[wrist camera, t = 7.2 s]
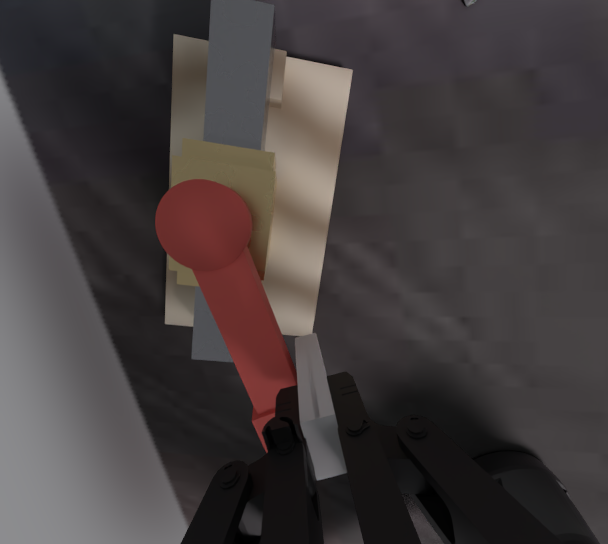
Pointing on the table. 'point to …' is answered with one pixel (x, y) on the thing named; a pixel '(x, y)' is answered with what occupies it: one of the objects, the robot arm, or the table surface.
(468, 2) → the syrup box
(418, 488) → the robot arm
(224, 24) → the valve
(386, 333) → the table surface
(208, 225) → the lever
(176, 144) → the board
